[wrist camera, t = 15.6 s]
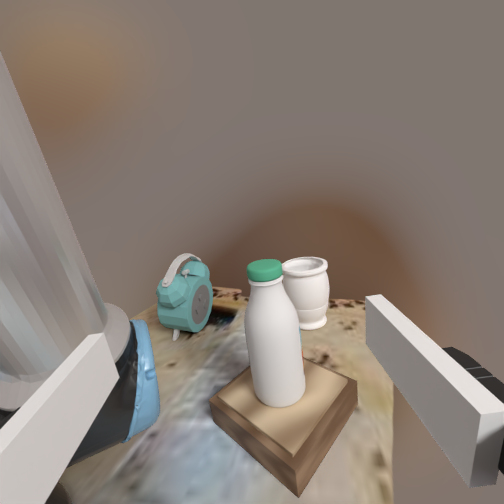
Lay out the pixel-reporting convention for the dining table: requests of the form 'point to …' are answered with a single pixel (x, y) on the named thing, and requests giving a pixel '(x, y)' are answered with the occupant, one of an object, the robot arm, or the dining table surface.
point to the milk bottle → (273, 337)
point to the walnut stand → (287, 422)
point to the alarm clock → (185, 296)
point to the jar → (307, 290)
